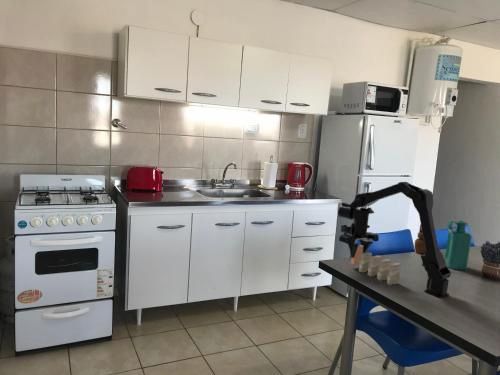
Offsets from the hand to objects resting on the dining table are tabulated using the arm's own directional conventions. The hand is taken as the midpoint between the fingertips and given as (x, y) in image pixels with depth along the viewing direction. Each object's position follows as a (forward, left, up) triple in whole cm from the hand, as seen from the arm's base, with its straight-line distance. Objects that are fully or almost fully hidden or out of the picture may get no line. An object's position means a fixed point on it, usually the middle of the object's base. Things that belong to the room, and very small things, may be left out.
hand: (357, 257), depth 183 cm
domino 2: (-5, 0, -5) cm, 7 cm away
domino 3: (-10, 0, -5) cm, 11 cm away
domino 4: (-15, 0, -5) cm, 16 cm away
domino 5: (-20, 0, -5) cm, 20 cm away
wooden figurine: (+6, -53, -5) cm, 54 cm away
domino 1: (0, 0, -3) cm, 3 cm away
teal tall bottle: (-15, -49, -5) cm, 51 cm away
